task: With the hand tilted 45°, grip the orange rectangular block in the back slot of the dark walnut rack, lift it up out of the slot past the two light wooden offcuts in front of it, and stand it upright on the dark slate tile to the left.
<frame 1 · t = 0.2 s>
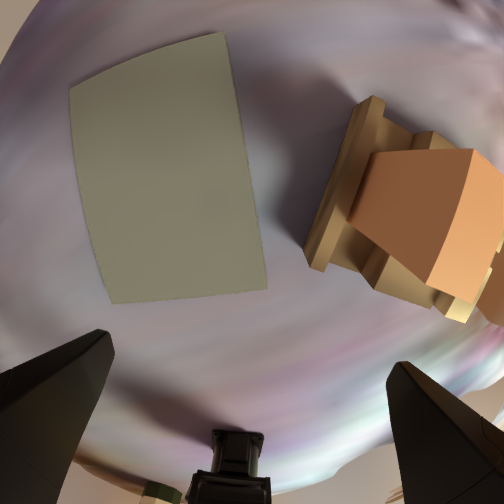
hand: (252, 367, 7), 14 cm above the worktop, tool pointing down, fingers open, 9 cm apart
ash offcut: (442, 271, 20), point 1 cm above the worktop, touching walnut rack
orange rectangular block: (369, 192, 18), point 1 cm above the worktop, touching walnut rack
walnut rack: (404, 210, 20), on the worktop
slate tile: (158, 173, 20), on the worktop
wine bottle: (163, 488, 39), on the worktop
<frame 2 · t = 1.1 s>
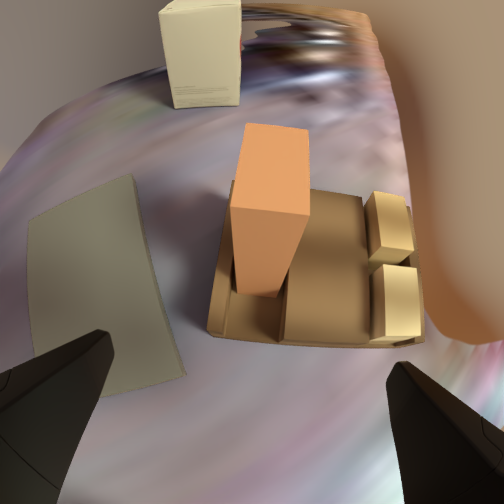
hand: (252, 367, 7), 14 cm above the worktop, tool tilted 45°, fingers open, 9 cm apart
ash offcut: (375, 314, 20), point 1 cm above the worktop, touching walnut rack
supplement box: (209, 92, 34), on the worktop
orange rectangular block: (259, 265, 22), point 1 cm above the worktop, touching walnut rack
walnut rack: (306, 275, 23), on the worktop
slate tile: (87, 287, 22), on the worktop
oak offcut: (372, 244, 23), point 1 cm above the worktop, touching walnut rack
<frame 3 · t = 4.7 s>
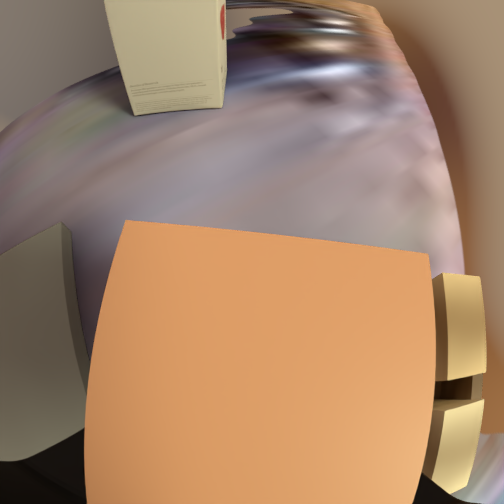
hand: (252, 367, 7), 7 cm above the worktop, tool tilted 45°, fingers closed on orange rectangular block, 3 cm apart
ash offcut: (411, 440, 11), point 1 cm above the worktop, touching walnut rack
supplement box: (184, 90, 24), on the worktop
orange rectangular block: (246, 394, 12), point 1 cm above the worktop, touching gripper, walnut rack
walnut rack: (318, 396, 13), on the worktop
slate tile: (22, 383, 12), on the worktop
oak offcut: (418, 339, 13), point 1 cm above the worktop, touching walnut rack
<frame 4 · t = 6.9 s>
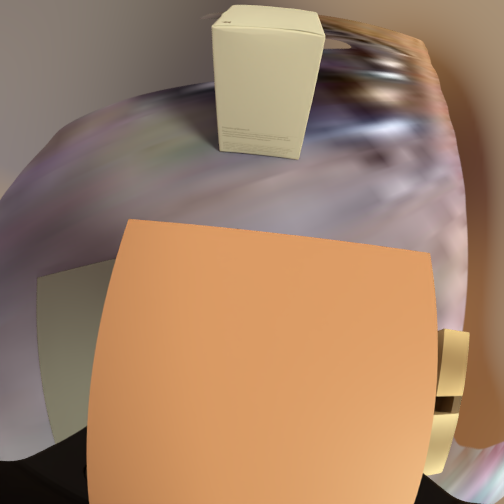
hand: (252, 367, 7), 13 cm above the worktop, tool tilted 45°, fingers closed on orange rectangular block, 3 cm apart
ash offcut: (407, 437, 16), point 1 cm above the worktop, touching walnut rack
supplement box: (263, 132, 30), on the worktop
orange rectangular block: (246, 393, 12), point 7 cm above the worktop, touching gripper
walnut rack: (352, 398, 18), on the worktop
slate tile: (109, 379, 18), on the worktop
oak offcut: (422, 367, 18), point 1 cm above the worktop, touching walnut rack
when the fingers open (9 cm above the worktop, at t = 9.5 s): orange rectangular block drops 1 cm, resting on slate tile.
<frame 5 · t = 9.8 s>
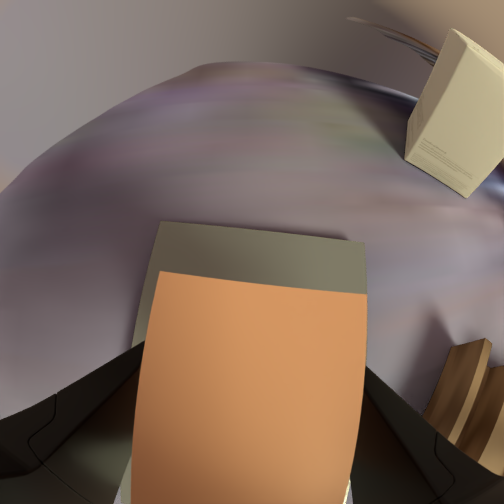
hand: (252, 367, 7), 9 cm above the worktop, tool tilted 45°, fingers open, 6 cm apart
supplement box: (436, 157, 25), on the worktop
orange rectangular block: (245, 391, 14), point 2 cm above the worktop, touching slate tile
walnut rack: (468, 439, 12), on the worktop
slate tile: (245, 389, 15), on the worktop
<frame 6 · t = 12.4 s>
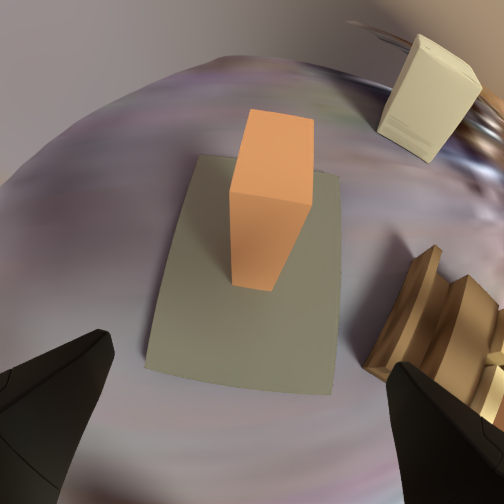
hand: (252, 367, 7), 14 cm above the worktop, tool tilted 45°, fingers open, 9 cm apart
ash offcut: (464, 396, 18), point 1 cm above the worktop, touching walnut rack
supplement box: (405, 133, 32), on the worktop
orange rectangular block: (256, 258, 22), point 1 cm above the worktop, touching slate tile
walnut rack: (439, 345, 21), on the worktop
slate tile: (255, 264, 23), on the worktop
oak offcut: (483, 342, 20), point 1 cm above the worktop, touching walnut rack
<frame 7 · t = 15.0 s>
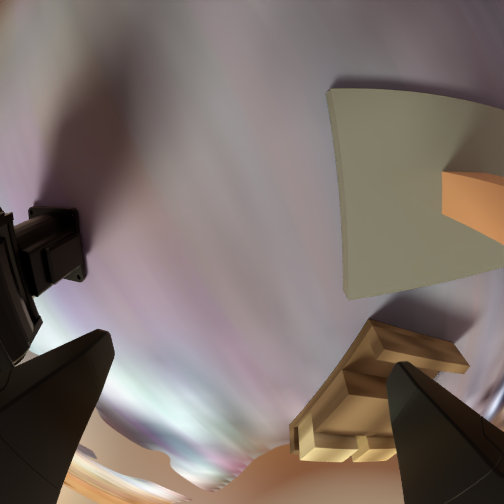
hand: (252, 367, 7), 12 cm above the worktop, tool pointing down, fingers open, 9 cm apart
ash offcut: (324, 421, 24), point 1 cm above the worktop, touching walnut rack
orange rectangular block: (465, 192, 15), point 1 cm above the worktop, touching slate tile
walnut rack: (377, 384, 23), on the worktop
slate tile: (454, 189, 16), on the worktop
oak offcut: (370, 425, 24), point 1 cm above the worktop, touching walnut rack
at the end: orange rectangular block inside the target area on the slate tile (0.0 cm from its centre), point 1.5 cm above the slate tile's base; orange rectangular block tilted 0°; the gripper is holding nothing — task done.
